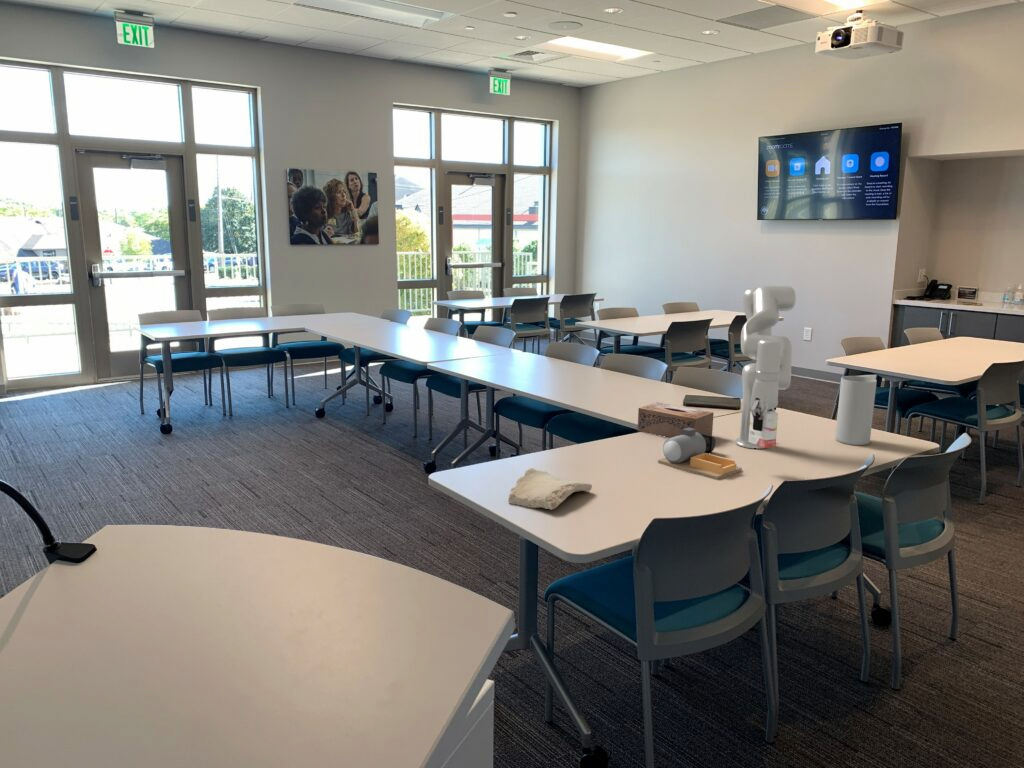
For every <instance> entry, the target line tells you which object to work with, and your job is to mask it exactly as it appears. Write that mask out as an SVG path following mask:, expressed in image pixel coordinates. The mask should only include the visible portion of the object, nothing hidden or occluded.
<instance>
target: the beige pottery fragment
mask: <svg viewBox="0 0 1024 768" xmlns="http://www.w3.org/2000/svg"><path fill="white" fill-rule="evenodd" d="M524 472H525V473H524V475H523V476H520V477H519V478H518V479H517V480H516V485H514V487H512V488H511V489H510V493H509V495H508V500H507V501H508V503H509V504H510V503H511V504H510V505H515V504H518V505H517V506H519V505H522V506H521V507H523V506H526V507H525V508H529V507H531V508H532V509H538V508H539V509H540V508H543V509H546V510H554V509H556V508H557V507H558V506H559V505H560V504H562V503H563V502H564V501H565V500H566V499H568V498H567V497H569V496H570V495H572V494H573V493H576V492H577V493H578V492H586V491H588V492H589V491H591V490H592V487H593V485H592V484H591V483H590V482H589V483H588V482H584V481H575V480H574V481H573V480H568V479H564V478H561V477H560V478H559V477H558V476H555V475H552V474H551V473H549V472H547V471H546V470H543V471H542V470H538V469H536V468H532V467H531V468H528V469H527V470H525V471H524Z"/></svg>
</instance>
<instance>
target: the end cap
mask: <svg viewBox="0 0 1024 768" xmlns="http://www.w3.org/2000/svg"><path fill="white" fill-rule="evenodd" d="M701 435H702V436H703V437H704V439H705V442H706V450H705V452H704V453H708V454H709V453H710V454H711V453H712V452H713V451H715V450H714V449H715V447H716V443H717V441H716V437H714V436H713V435H712V436H709V435H704V434H701Z"/></svg>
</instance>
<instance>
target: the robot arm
mask: <svg viewBox="0 0 1024 768" xmlns="http://www.w3.org/2000/svg"><path fill="white" fill-rule="evenodd" d="M796 295H797V294H796V291H795V289H794V288H793V287H792V286H786V285H761V286H758V287H751V288H748V289H746V290H744V292H743V295H742V306H743V312H744V314H745V317H746V322H745V323H744V324H743V325H742V328H741V333H740V350H741V353H742V354H743V356H746V357H748V358H750V359H751V360H754V361H756V362H755V363H754V362H753V363H748V364H746V365H744V366H743V368H742V371H741V380H742V400H741V401H742V402H741V414H740V415H741V416H740V431H739V437H738V438H736V439H735V441H734V443H735V445H737V446H739V447H742V448H746V449H747V448H748V449H754V448H756V449H755V450H759V449H761V450H762V449H764V448H763V447H760V446H758V445H755V444H753V443H751V442H749V428H750V413H751V412H752V415H753V430H757V431H762V426H763V419H762V416H763V411H765V408H766V405H768V410H770V411H772V412H775V413H776V410H777V407H778V405H779V390H780V391H781V390H782V391H784V390H787V389H789V387H790V386H791V381H792V357H793V356H792V353H793V351H792V350H793V348H792V341H791V340H790V338H789V337H787V336H781V335H772V328H773V327H774V326H775V325H777V323H778V322H779V319H780V312H789V311H792V310H793V309H794V307H795V306H796V301H797V296H796ZM758 408H761V410H759V409H758ZM757 411H758V412H760V415H759V413H758V412H757Z"/></svg>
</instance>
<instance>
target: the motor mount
mask: <svg viewBox="0 0 1024 768" xmlns="http://www.w3.org/2000/svg"><path fill="white" fill-rule="evenodd" d="M705 450H706V442H705V439H704V437H703V436H702V435H701V434H700V433H698V432H696V429H694V428H689V427H688V428H685V429H682V435H679V436H676V437H672V438H667V439H665V441H664V443H663V445H662V451H663V455H664V458H660V459H657V463H658V464H661V465H664V466H667V465H668V467H672V468H674V467H675V469H678V468H679V469H678V470H681V469H682V470H681V471H686V472H688V471H689V472H688V473H692V472H693V473H692V474H695V473H696V475H699V474H700V475H699V476H702V475H703V476H702V477H706V476H707V477H706V478H709V477H710V478H709V479H713V478H714V479H713V480H716V479H718V480H720V479H723V478H725V476H726V477H728V476H731V475H734V474H736V473H739V472H742V471H743V469H742V467H741V466H738V465H737V463H735V461H736V460H733V459H730V458H726V457H723V456H719V455H715V454H711V453H710V454H708V453H704V452H705ZM741 470H742V471H741ZM738 471H739V472H738ZM733 473H734V474H733ZM730 474H731V475H730ZM722 477H723V478H722ZM719 478H720V479H719Z"/></svg>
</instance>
